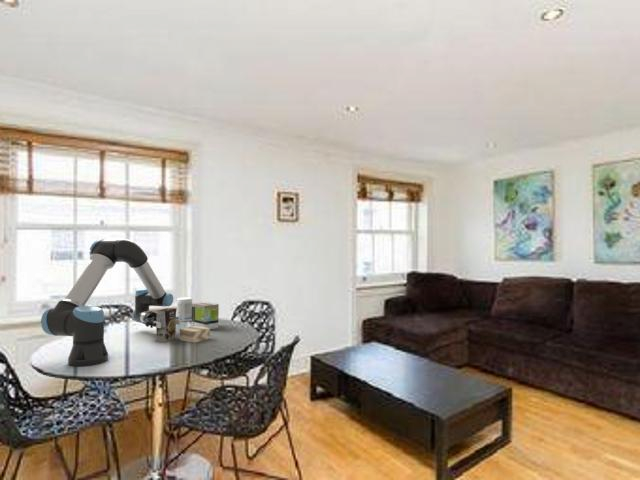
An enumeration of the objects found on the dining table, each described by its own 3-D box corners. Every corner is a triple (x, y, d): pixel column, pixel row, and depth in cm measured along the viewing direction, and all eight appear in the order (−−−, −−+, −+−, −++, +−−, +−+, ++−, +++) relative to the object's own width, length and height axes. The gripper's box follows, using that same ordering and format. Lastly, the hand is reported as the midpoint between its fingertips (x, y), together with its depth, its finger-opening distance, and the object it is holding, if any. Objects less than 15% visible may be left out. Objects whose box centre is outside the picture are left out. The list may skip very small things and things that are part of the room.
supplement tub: (192, 318, 271) (193, 297, 271) (191, 321, 262) (191, 299, 262) (177, 319, 269) (178, 297, 269) (175, 322, 260) (176, 299, 260)
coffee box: (166, 342, 209) (167, 311, 209) (155, 341, 211) (156, 310, 211) (176, 338, 218) (176, 308, 218) (165, 337, 220) (166, 307, 220)
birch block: (193, 343, 209) (194, 331, 209) (179, 340, 215) (179, 329, 215) (209, 338, 218) (210, 327, 218) (195, 336, 224) (195, 325, 224)
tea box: (219, 328, 244) (219, 303, 244) (204, 330, 236) (204, 305, 236) (205, 324, 254) (205, 301, 254) (190, 327, 246) (191, 302, 246)
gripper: (169, 321, 235) (189, 327, 221) (129, 328, 217) (148, 334, 203) (169, 309, 235) (190, 313, 221) (129, 314, 218) (149, 319, 203)
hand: (170, 323), depth 212 cm, fingers closed on coffee box, 11 cm apart
